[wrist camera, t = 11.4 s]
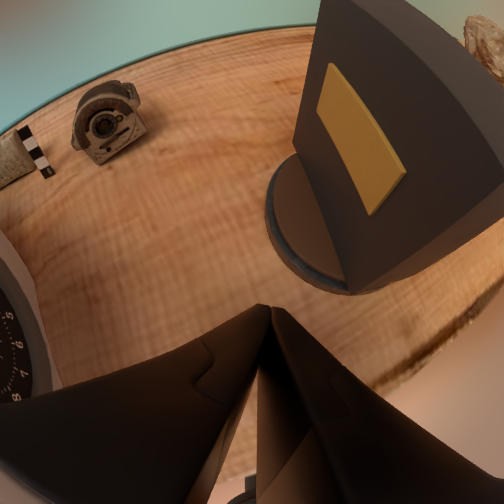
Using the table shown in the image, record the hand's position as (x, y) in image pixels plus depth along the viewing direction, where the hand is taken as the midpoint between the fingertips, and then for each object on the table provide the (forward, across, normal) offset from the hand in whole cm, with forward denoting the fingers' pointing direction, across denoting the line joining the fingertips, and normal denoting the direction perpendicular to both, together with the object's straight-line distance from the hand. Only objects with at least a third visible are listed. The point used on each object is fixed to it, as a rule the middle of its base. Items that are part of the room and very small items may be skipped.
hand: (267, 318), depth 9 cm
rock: (+51, +38, +33) cm, 72 cm away
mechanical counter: (+23, -20, +4) cm, 30 cm away
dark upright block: (+16, +6, 0) cm, 17 cm away
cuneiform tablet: (+17, -31, -2) cm, 35 cm away
